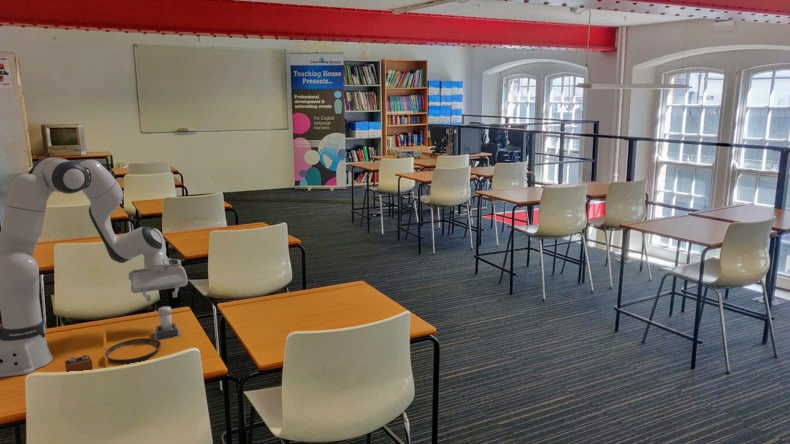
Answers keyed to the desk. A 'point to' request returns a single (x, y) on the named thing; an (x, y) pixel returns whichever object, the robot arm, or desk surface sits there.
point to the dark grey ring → (130, 342)
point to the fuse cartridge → (165, 318)
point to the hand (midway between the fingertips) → (162, 298)
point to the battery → (79, 364)
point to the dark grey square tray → (166, 333)
